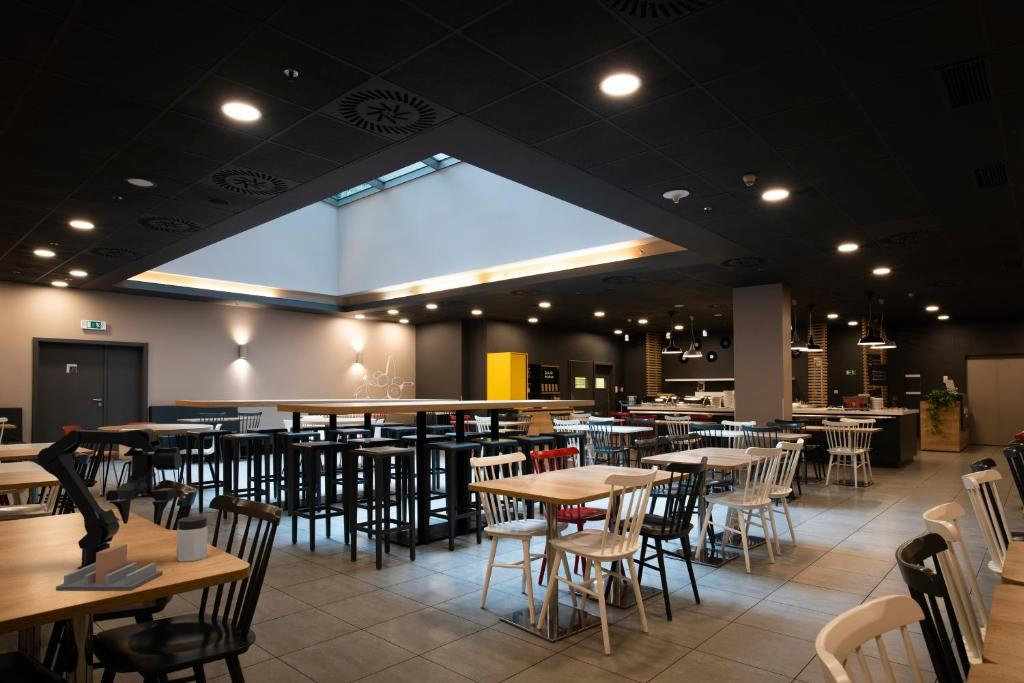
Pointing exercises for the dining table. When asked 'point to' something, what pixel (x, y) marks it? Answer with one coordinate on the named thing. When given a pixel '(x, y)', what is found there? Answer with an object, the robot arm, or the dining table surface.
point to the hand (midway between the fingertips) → (140, 523)
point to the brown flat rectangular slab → (110, 561)
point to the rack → (110, 578)
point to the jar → (191, 538)
